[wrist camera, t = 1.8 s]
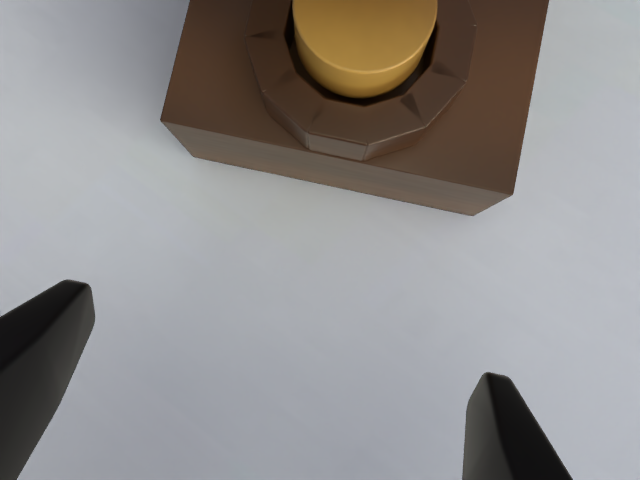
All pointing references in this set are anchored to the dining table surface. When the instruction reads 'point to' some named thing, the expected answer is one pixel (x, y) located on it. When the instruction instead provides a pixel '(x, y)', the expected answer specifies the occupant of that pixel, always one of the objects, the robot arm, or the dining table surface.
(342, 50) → the button
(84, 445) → the dining table surface
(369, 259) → the dining table surface
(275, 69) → the lamp base
